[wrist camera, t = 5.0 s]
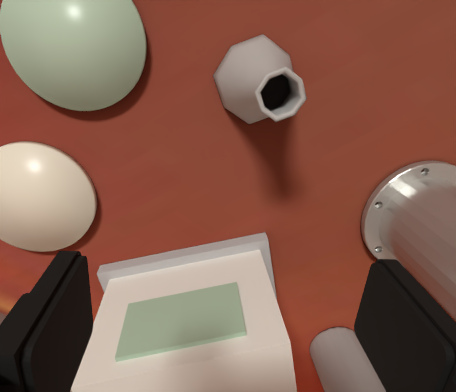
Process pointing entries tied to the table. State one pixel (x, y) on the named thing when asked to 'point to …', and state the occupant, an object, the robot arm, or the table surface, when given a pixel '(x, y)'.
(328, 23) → the table surface
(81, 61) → the green pad
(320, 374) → the bottle
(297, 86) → the flask
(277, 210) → the table surface
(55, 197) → the cream pad
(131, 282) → the control unit
